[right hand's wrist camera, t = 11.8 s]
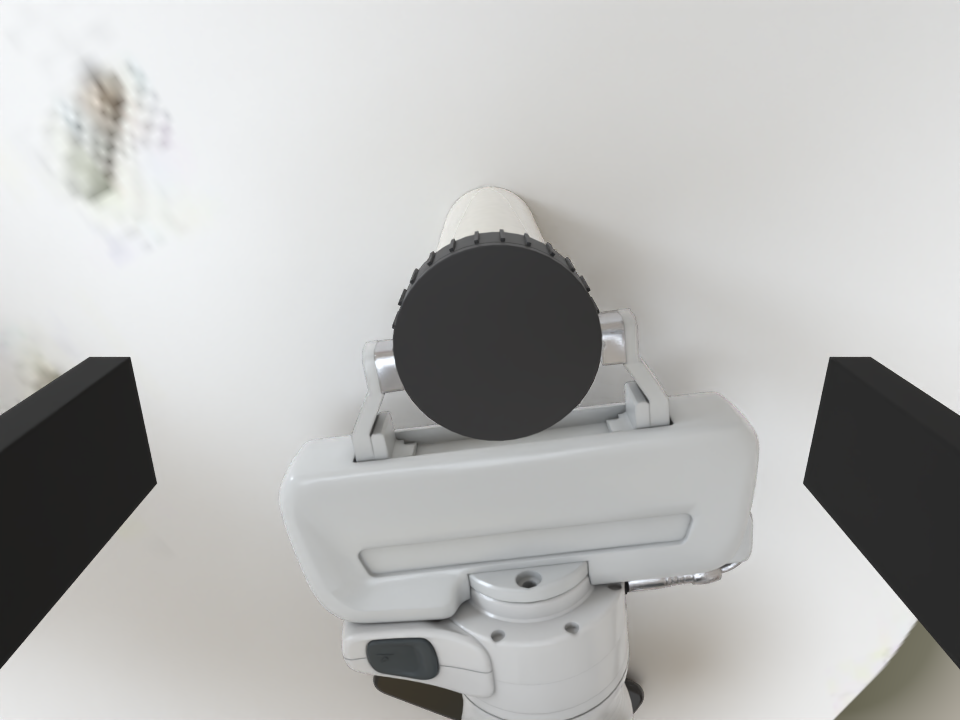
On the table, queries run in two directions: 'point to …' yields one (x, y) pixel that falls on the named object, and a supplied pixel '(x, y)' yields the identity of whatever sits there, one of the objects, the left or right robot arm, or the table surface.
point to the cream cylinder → (488, 215)
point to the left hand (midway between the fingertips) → (496, 329)
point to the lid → (497, 336)
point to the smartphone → (454, 695)
